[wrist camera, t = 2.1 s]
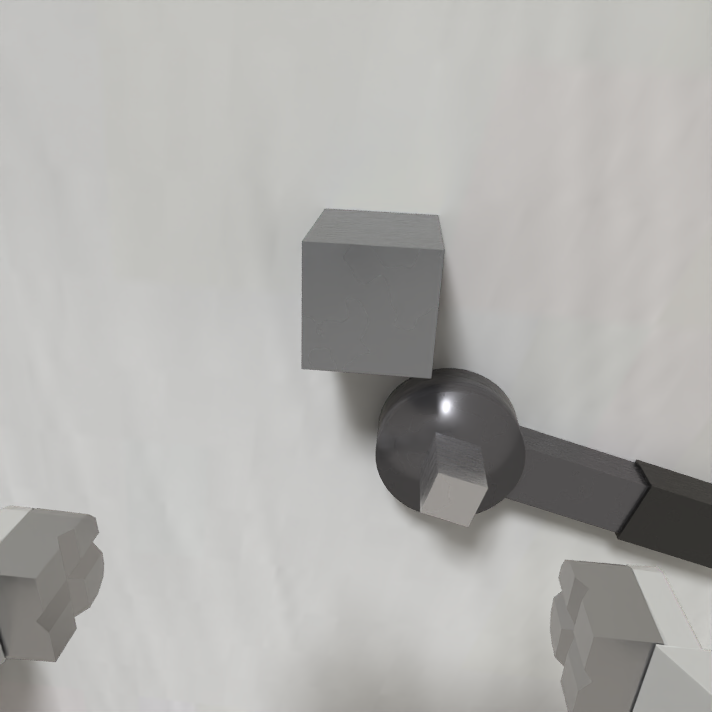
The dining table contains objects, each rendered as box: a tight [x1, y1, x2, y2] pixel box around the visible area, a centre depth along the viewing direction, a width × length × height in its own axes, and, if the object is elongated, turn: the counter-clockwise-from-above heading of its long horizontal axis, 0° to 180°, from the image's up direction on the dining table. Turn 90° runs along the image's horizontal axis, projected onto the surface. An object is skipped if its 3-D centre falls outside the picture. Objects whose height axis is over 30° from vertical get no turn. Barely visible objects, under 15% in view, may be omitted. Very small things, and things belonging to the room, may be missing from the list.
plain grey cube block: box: [302, 209, 444, 379], centre depth 25 cm, size 5×5×6 cm
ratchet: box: [376, 368, 712, 568], centre depth 29 cm, size 7×19×6 cm, turn 73°
